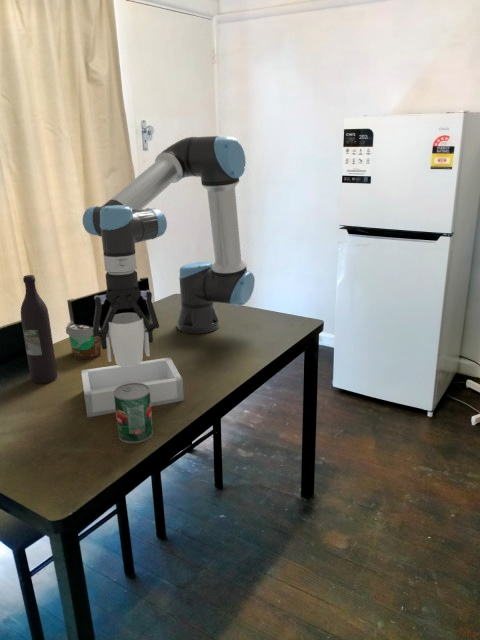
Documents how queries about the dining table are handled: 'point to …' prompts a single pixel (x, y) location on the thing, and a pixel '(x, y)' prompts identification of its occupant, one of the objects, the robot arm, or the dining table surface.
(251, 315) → the dining table surface
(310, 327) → the dining table surface
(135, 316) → the cup
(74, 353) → the food container
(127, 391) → the canned tomato
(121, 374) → the bin
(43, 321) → the wine bottle
